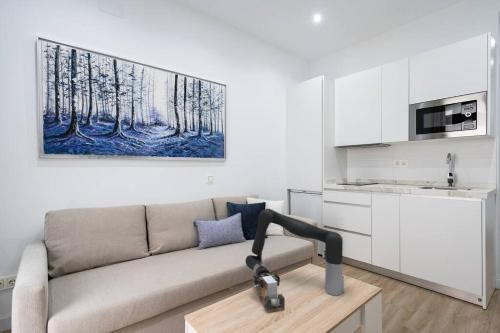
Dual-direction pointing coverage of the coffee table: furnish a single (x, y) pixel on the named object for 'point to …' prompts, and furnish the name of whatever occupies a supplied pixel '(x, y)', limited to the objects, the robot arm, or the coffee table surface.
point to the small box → (269, 287)
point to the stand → (273, 303)
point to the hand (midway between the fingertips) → (270, 285)
